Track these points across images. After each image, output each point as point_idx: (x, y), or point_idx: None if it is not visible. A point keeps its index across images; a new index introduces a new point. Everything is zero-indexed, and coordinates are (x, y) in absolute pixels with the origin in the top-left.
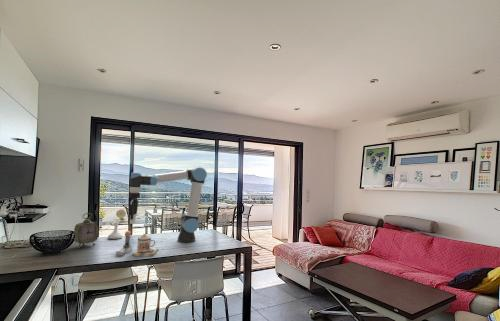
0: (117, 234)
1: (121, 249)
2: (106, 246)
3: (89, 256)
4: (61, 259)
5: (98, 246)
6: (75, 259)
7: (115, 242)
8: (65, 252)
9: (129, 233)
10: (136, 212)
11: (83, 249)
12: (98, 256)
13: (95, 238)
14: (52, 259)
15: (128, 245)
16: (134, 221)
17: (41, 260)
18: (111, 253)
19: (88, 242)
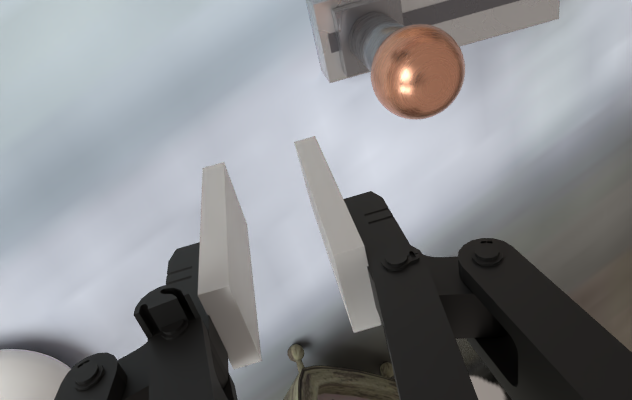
0: (20, 391)
1: (485, 15)
2: (281, 268)
3: (548, 189)
4: (606, 277)
5: (301, 311)
6: (611, 215)
7: (138, 295)
8: (474, 356)
9: (449, 38)
10: (117, 365)
11: None
12: (547, 135)
13: (313, 382)
14: (604, 310)
15: (399, 2)
16: (229, 187)
17: (618, 335)
18: (462, 99)
19: (355, 371)
